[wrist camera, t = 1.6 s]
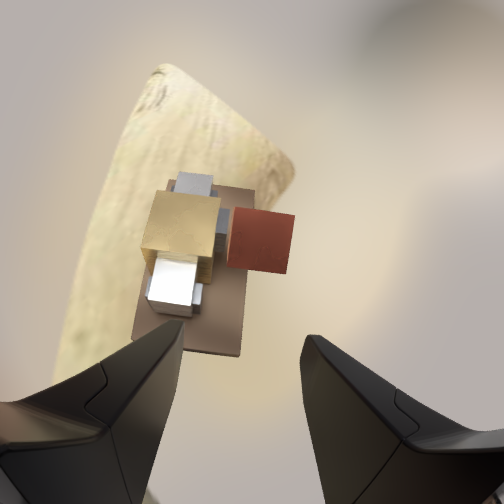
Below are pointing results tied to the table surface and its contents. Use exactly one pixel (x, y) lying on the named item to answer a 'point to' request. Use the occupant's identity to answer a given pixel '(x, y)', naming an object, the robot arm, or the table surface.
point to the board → (208, 296)
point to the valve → (183, 243)
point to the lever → (259, 240)
